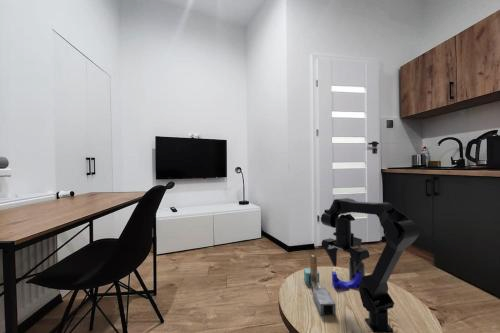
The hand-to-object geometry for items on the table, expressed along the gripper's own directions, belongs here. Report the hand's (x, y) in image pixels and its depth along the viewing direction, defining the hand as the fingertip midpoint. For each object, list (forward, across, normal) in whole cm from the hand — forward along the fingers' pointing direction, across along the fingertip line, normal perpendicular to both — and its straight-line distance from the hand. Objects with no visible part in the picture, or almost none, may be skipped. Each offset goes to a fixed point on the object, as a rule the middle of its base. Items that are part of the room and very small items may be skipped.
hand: (344, 270), depth 96 cm
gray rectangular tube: (+13, +3, +9) cm, 16 cm away
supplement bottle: (+13, +10, -20) cm, 25 cm away
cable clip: (+13, +8, -11) cm, 19 cm away
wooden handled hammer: (+12, +13, +3) cm, 18 cm away
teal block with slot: (+13, +20, -2) cm, 24 cm away
